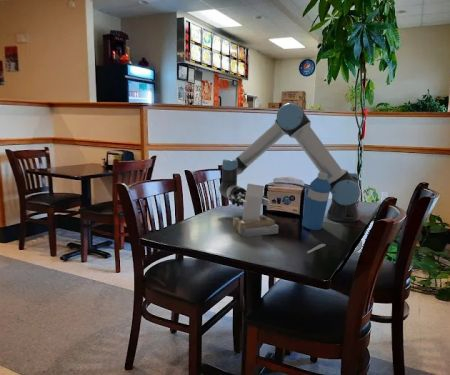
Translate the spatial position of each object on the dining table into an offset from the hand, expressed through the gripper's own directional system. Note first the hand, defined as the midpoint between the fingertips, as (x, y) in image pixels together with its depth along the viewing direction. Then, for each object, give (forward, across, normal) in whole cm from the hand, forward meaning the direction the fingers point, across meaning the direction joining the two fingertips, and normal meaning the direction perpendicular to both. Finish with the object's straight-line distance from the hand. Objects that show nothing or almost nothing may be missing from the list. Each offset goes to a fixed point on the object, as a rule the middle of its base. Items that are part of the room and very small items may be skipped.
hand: (258, 204), depth 158 cm
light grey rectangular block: (-7, 0, -11) cm, 13 cm away
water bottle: (0, -28, -12) cm, 30 cm away
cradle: (-5, 0, -12) cm, 13 cm away
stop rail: (+2, 0, -12) cm, 13 cm away
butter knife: (+28, -7, -13) cm, 32 cm away
